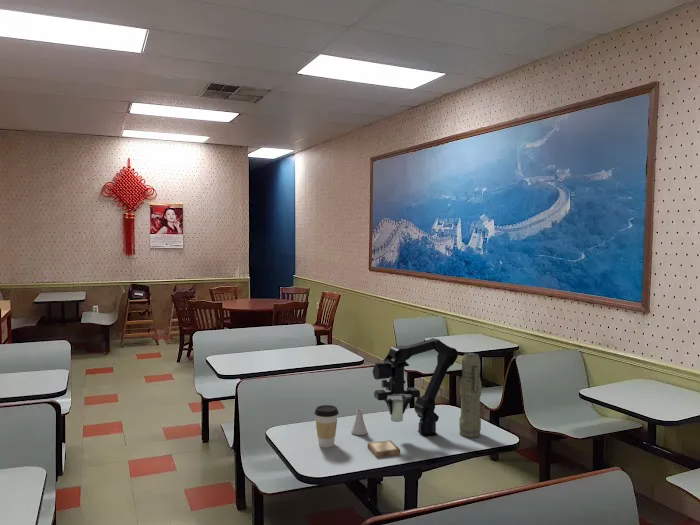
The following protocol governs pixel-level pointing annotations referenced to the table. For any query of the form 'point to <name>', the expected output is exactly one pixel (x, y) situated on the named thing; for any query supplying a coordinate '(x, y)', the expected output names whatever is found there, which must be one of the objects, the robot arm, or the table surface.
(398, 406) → the sage capsule
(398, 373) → the robot arm
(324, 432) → the coffee cup
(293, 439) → the table surface
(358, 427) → the flask
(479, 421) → the stone statue
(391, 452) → the plinth
